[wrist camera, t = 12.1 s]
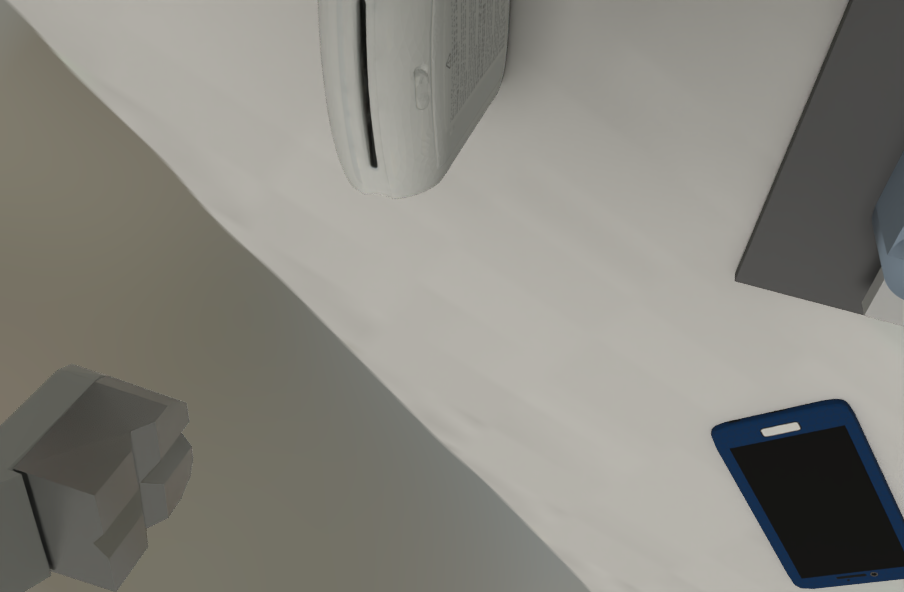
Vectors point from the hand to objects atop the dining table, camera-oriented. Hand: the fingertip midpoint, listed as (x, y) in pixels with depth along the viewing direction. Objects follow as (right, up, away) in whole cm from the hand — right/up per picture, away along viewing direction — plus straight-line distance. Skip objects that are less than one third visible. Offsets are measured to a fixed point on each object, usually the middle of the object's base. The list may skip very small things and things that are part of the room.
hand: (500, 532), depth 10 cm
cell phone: (+20, -8, +37) cm, 43 cm away
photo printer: (0, +16, +26) cm, 31 cm away
